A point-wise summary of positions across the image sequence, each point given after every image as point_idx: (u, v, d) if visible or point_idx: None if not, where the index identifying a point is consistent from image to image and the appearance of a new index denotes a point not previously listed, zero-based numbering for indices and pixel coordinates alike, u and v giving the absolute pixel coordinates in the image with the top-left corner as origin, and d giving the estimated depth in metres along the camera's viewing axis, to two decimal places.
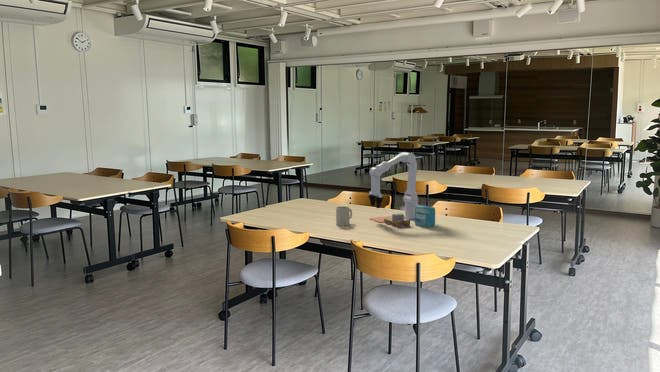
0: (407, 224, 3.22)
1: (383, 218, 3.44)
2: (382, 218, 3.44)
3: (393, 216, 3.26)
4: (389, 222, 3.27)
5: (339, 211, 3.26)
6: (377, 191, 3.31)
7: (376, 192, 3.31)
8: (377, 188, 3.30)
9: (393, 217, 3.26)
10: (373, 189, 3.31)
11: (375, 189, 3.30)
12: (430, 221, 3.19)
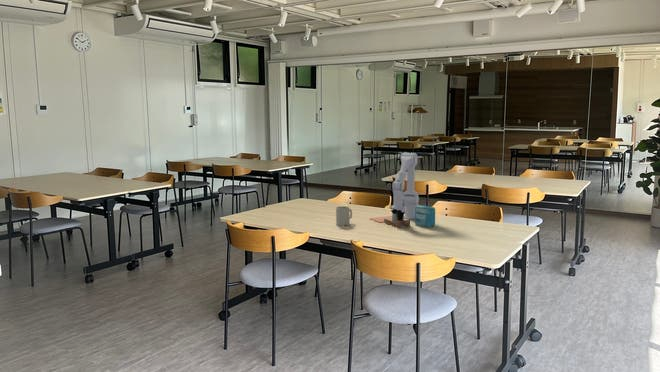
0: (407, 224, 3.22)
1: (383, 218, 3.44)
2: (382, 218, 3.44)
3: (393, 216, 3.26)
4: (389, 222, 3.27)
5: (339, 211, 3.26)
6: (400, 205, 3.23)
7: (399, 206, 3.23)
8: (400, 202, 3.23)
9: (393, 217, 3.26)
10: (396, 203, 3.23)
11: (398, 203, 3.22)
12: (430, 221, 3.19)
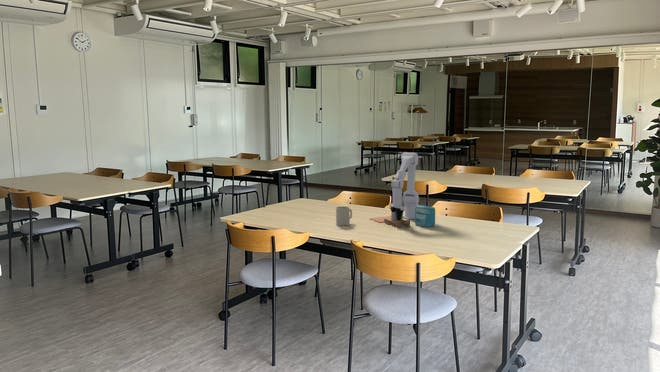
0: (407, 224, 3.22)
1: (383, 218, 3.44)
2: (382, 218, 3.44)
3: (392, 214, 3.27)
4: (389, 222, 3.27)
5: (339, 211, 3.26)
6: (399, 203, 3.24)
7: (398, 204, 3.24)
8: (399, 200, 3.24)
9: (392, 215, 3.27)
10: (395, 201, 3.24)
11: (397, 201, 3.23)
12: (430, 221, 3.19)
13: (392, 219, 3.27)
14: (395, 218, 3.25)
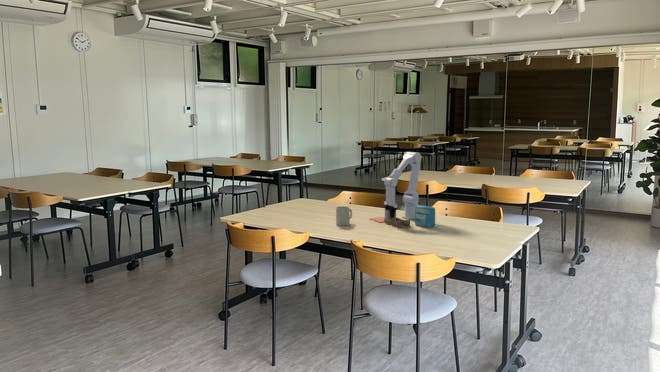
0: (407, 224, 3.22)
1: (383, 218, 3.44)
2: (382, 218, 3.44)
3: (386, 212, 3.35)
4: (389, 222, 3.27)
5: (339, 211, 3.26)
6: (392, 201, 3.32)
7: (391, 202, 3.32)
8: (392, 198, 3.31)
9: (386, 213, 3.35)
10: (388, 199, 3.32)
11: (390, 199, 3.31)
12: (430, 221, 3.19)
13: (386, 217, 3.35)
14: (388, 216, 3.33)
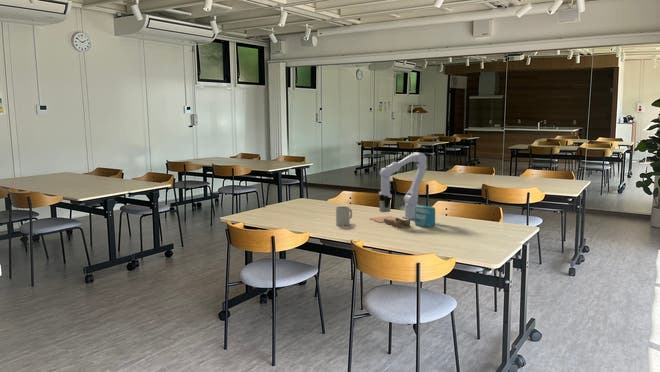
0: (407, 224, 3.22)
1: (383, 218, 3.44)
2: (382, 218, 3.44)
3: (380, 203, 3.40)
4: (389, 222, 3.27)
5: (339, 211, 3.26)
6: (387, 191, 3.37)
7: (386, 192, 3.37)
8: (387, 188, 3.37)
9: (380, 204, 3.40)
10: (383, 189, 3.38)
11: (385, 189, 3.37)
12: (430, 221, 3.19)
13: (380, 207, 3.41)
14: (383, 206, 3.39)
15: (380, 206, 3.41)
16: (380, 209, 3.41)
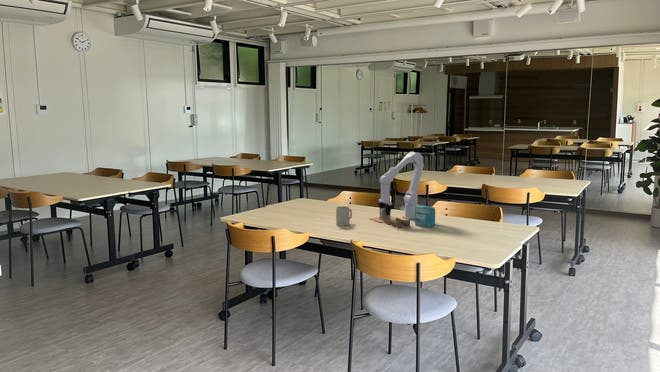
0: (407, 224, 3.22)
1: None
2: None
3: (380, 210, 3.41)
4: (389, 222, 3.27)
5: (339, 211, 3.26)
6: (387, 199, 3.38)
7: (386, 200, 3.38)
8: (387, 196, 3.38)
9: (380, 211, 3.41)
10: (383, 197, 3.38)
11: (385, 197, 3.38)
12: (430, 221, 3.19)
13: (380, 215, 3.42)
14: (383, 214, 3.40)
15: (380, 214, 3.42)
16: (380, 217, 3.42)
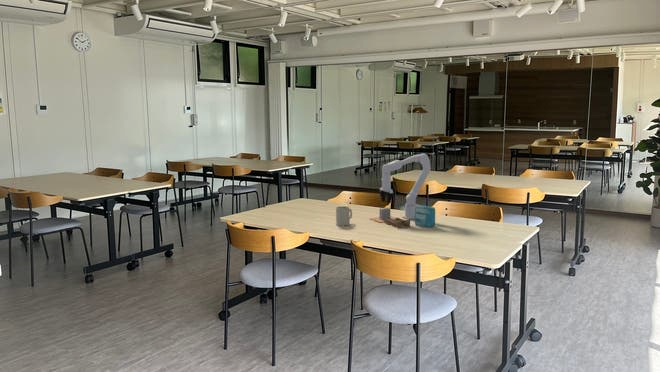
0: (407, 224, 3.22)
1: None
2: None
3: (380, 210, 3.41)
4: (389, 222, 3.27)
5: (339, 211, 3.26)
6: (388, 187, 3.44)
7: (387, 188, 3.44)
8: (388, 184, 3.44)
9: (380, 211, 3.41)
10: (384, 185, 3.44)
11: (386, 185, 3.44)
12: (430, 221, 3.19)
13: (380, 215, 3.42)
14: (383, 214, 3.40)
15: (380, 214, 3.42)
16: (380, 217, 3.42)
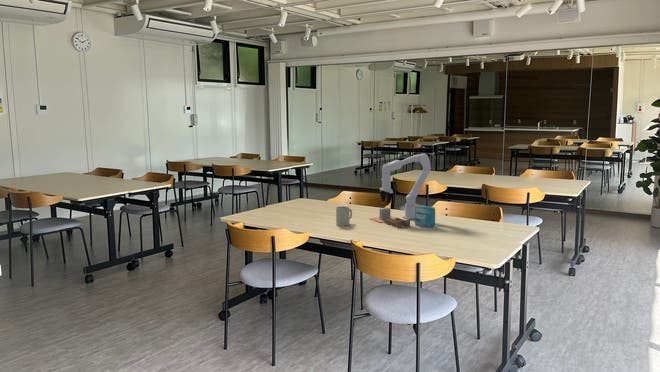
0: (407, 224, 3.22)
1: None
2: None
3: (380, 210, 3.41)
4: (389, 222, 3.27)
5: (339, 211, 3.26)
6: (388, 187, 3.44)
7: (387, 188, 3.44)
8: (388, 184, 3.44)
9: (380, 211, 3.41)
10: (384, 185, 3.44)
11: (386, 185, 3.44)
12: (430, 221, 3.19)
13: (380, 215, 3.42)
14: (383, 214, 3.40)
15: (380, 214, 3.42)
16: (380, 217, 3.42)
